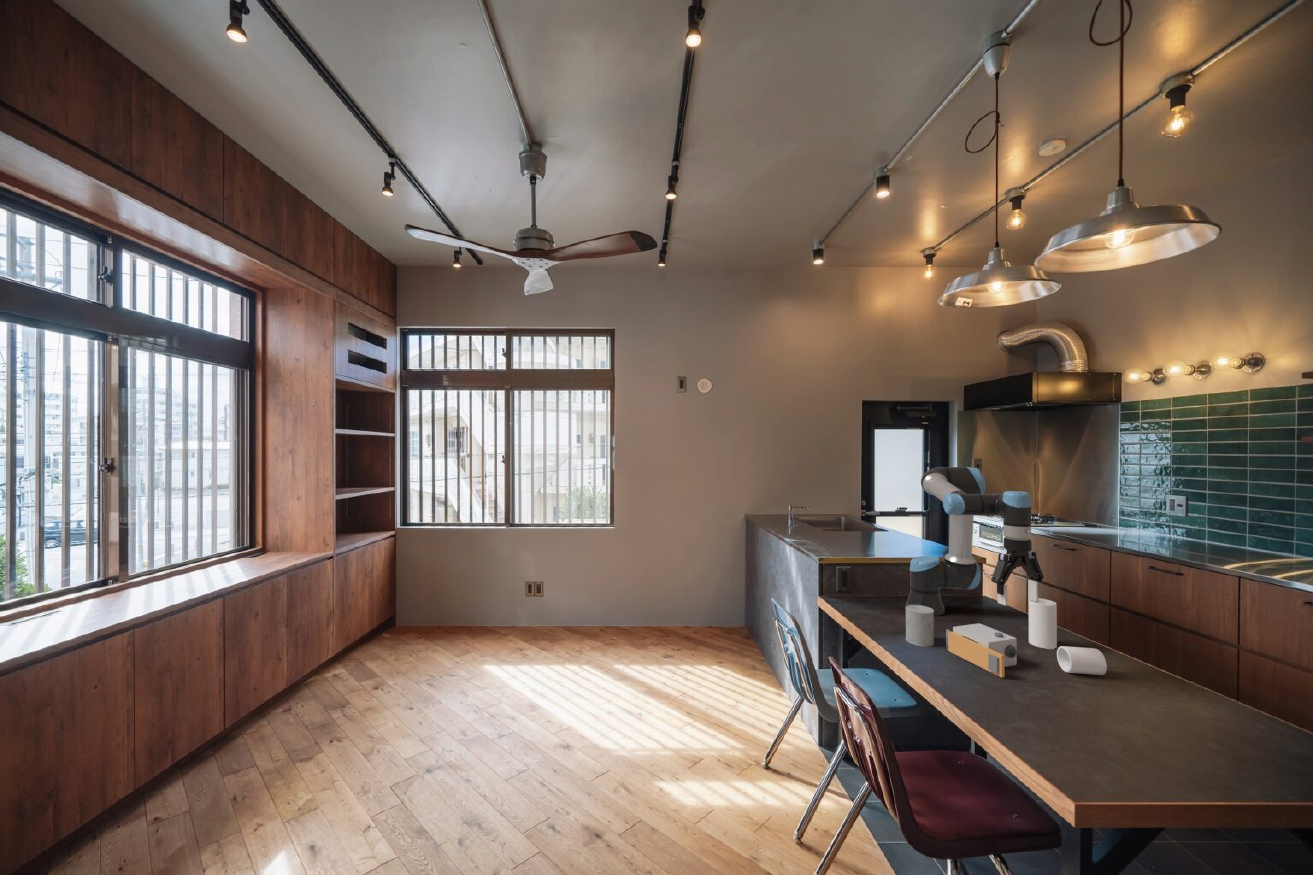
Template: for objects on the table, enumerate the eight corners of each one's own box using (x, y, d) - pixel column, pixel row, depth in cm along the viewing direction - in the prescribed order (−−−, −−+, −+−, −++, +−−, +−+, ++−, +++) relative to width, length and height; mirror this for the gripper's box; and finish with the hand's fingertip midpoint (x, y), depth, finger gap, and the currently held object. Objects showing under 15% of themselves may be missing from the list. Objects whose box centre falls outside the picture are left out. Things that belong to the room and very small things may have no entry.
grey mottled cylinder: (927, 636, 191) (927, 604, 191) (938, 647, 182) (938, 613, 182) (901, 635, 192) (901, 604, 192) (911, 646, 182) (911, 612, 182)
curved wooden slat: (943, 650, 178) (943, 629, 178) (948, 649, 179) (948, 629, 179) (999, 678, 158) (999, 655, 158) (1004, 677, 158) (1004, 654, 158)
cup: (1057, 651, 178) (1057, 606, 178) (1028, 645, 182) (1028, 602, 182) (1056, 643, 184) (1056, 600, 184) (1028, 638, 189) (1028, 596, 189)
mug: (1107, 679, 157) (1107, 654, 157) (1071, 676, 159) (1071, 652, 159) (1082, 662, 168) (1082, 639, 168) (1049, 660, 170) (1049, 637, 170)
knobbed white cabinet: (953, 651, 177) (953, 624, 177) (979, 647, 181) (979, 621, 181) (991, 670, 163) (991, 640, 163) (1019, 665, 166) (1019, 636, 166)
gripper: (999, 542, 157) (1000, 609, 157) (1056, 538, 164) (1057, 602, 164) (978, 538, 164) (978, 602, 164) (1033, 534, 171) (1034, 595, 171)
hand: (1018, 602), depth 164 cm, fingers open, 13 cm apart
